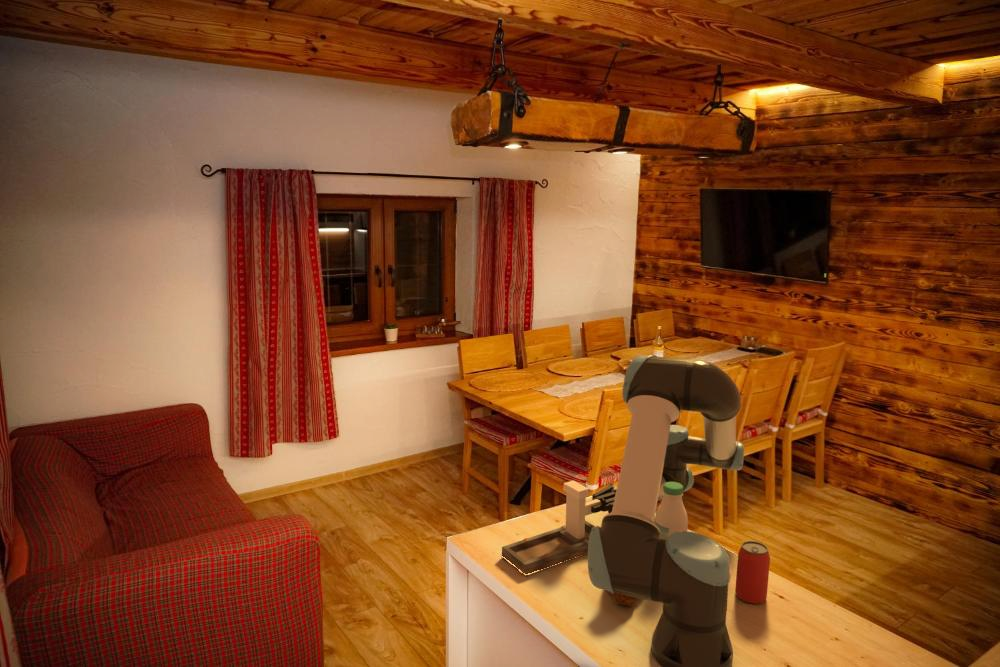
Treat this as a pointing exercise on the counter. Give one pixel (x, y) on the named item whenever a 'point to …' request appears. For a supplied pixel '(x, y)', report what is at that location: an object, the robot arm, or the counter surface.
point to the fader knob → (575, 513)
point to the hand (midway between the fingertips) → (579, 511)
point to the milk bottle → (671, 511)
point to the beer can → (752, 572)
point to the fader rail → (544, 550)
